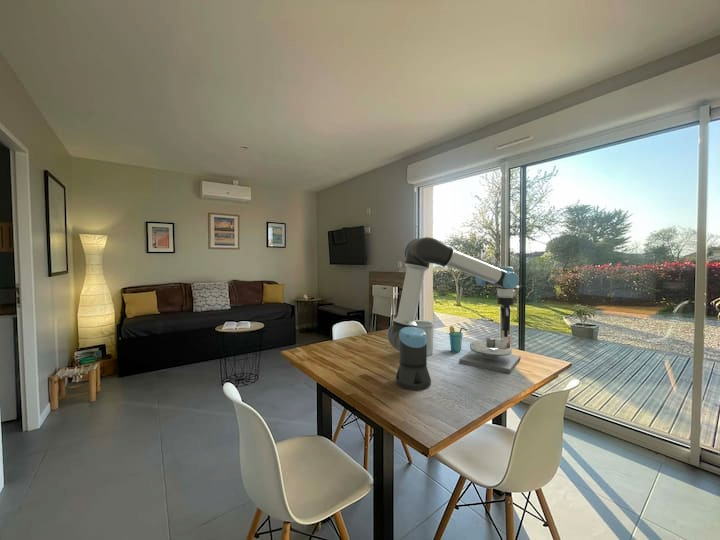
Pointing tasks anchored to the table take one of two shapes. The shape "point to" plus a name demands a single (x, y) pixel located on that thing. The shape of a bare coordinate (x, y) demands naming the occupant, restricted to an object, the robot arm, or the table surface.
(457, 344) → the cup
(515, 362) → the stand
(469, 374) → the table surface
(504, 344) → the handwheel
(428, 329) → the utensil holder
